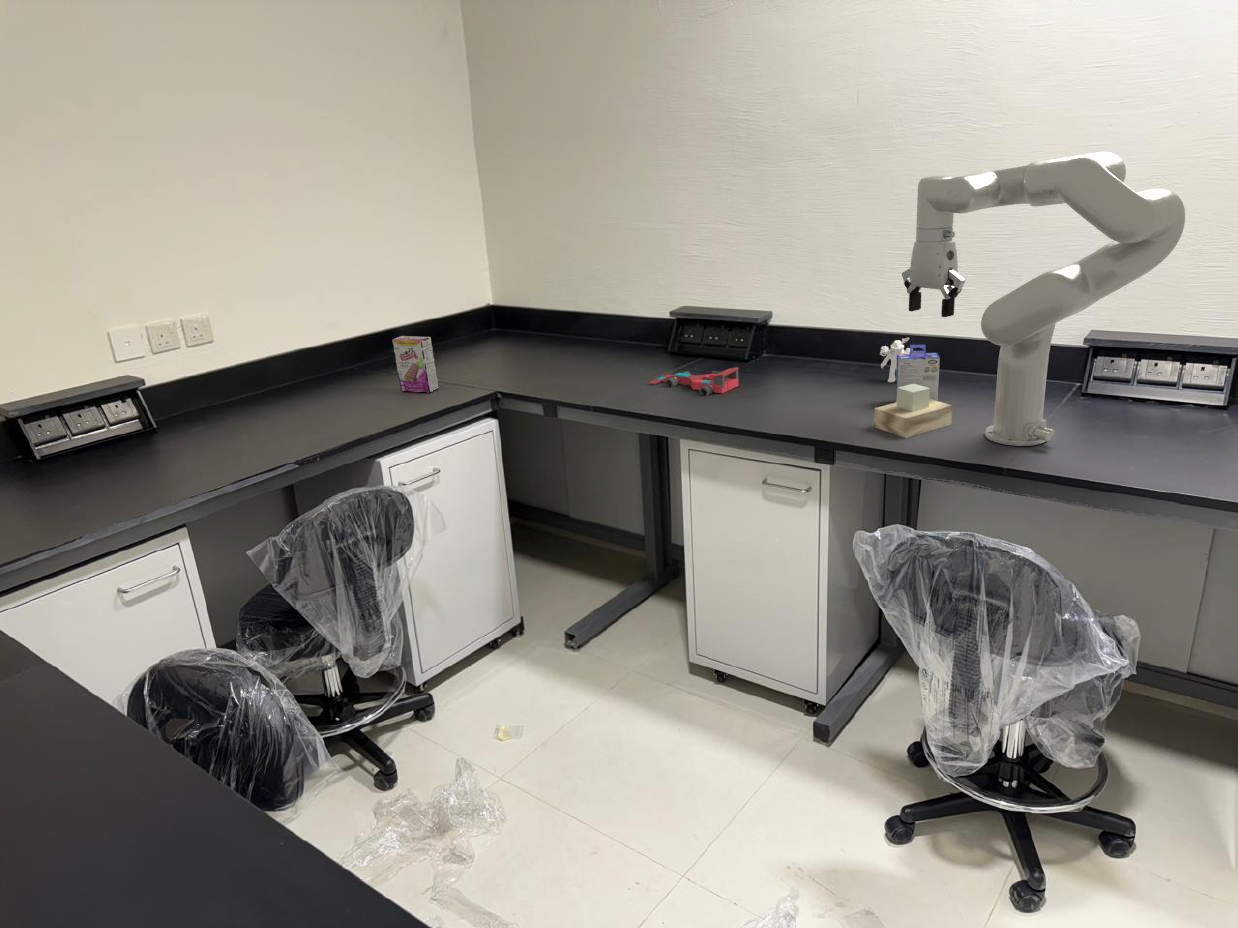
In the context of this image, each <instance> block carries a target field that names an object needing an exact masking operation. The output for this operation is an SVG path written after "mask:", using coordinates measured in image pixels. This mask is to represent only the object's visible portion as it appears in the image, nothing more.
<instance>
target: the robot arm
mask: <svg viewBox="0 0 1238 928" xmlns="http://www.w3.org/2000/svg"><path fill="white" fill-rule="evenodd" d="M1126 169H1127V168H1126V164H1125V163H1124V161H1123V159H1122V158H1121V157H1120V156H1119V155H1117V154H1115V153H1113V152H1108V151H1099V152H1097V151H1096V152H1090V153H1084V154H1079V155H1073V156H1065V157H1060V158H1058V157H1057V158H1053V159H1046V160H1039V161H1034V162H1031V163H1029V164H1027V165H1023V166H1017V167H1010V168H1004V169H1003V168H1002V169H996V170H989V171H983V172H977V173H976V172H975V173H970V174H966V175H959V176H955V177H952V176H950V175H934V176H933V175H932V176H927V177H923V178H921V179H920V180H919V181H918V184H917V202H916V203H917V206H916V233H915V242H914V243H913V247H912V253H911V259H910V268H908V269H907V270H906V269H905V270H904V271H903V272H902V273H901V277H902V279H903V285H904V286H905V288H906V292H907V294H908V312H914V311H915V312H916V311H919V310H921V308H922V292H921V290H922V288H923V289H929V290H938V291H939V290H940V292H941V294H942V297H944V298H943V299H941V317H942V318H947V317H952V316H954V314H955V302H956V298H958V296H959V294H960V293H961V292H962V290H963V287H964V285H965V283H966V279H965V278H964V277H963V276H961V275H960V274H959V271H958V269H959V267H958V266H959V265H958V251H957V245H956V242H955V241H953V238H955V235H956V233H955V231H954V230H953V229H954V214H962V215H963V214H968V213H971V212H975V211H979V210H986V209H990V208H998V207H1005V206H1013V205H1024V204H1025V205H1027V204H1028V205H1030V206H1031V207H1034V208H1035V207H1037V208H1039V207H1045V206H1053V205H1054V206H1055V205H1061V204H1062V205H1063V204H1066V205H1067V206H1068V207H1069V208H1071V209H1072V210H1073V211H1074V212H1075V213H1077V214H1078V215H1079V216H1081V218H1083V219H1084V220H1085V221H1087V223H1090V224H1091V225H1092V226H1093V227H1094V228H1095V229H1096V230H1098V231H1099V232H1101V233H1102V234H1103V235H1104V236H1106V237H1107V238H1108V239H1110V240H1113V241H1111V242H1109V243H1107V244H1105V245H1103V246H1102V247H1099V248H1098V249H1096V250H1095V251H1094V252H1091V254H1088V255H1087V256H1085V257H1082V258H1081V259H1079V260H1078V261H1074V262H1072V263H1071V264H1066V265H1064V266H1061V267H1058V268H1054V269H1051V270H1049V271H1046V272H1044V273H1041V274H1039V275H1038V276H1036V277H1034V278H1032V279H1031V280H1029V281H1027V282H1025V283H1023V284H1022V285H1020V286H1019V287H1017V288H1015V289H1013V290H1012V291H1009V292H1008V293H1006V294H1005V295H1003V296H1001V297H999V298H998V299H996V300H994V301H993V302H992V303H990V304H989V305H988V306H987V307H986V308H985V310H984V312H983V314H982V317H981V319H980V320H981V321H980V328H981V329H980V330H981V332H982V334H983V336H984V337H985V339H986V340H988V341H989V342H990V343H992V344H994V345H996V346H1000V348H999V349H1000V350H999V355H998V362H997V363H998V364H997V365H998V366H997V374H996V376H997V377H996V385H995V386H996V390H995V401H994V411H993V412H994V415H993V424H991V425H989V426H988V427H987V428H985V432H984V435H985V437H986V438H987V440H989V441H992V442H994V443H998V444H1000V445H1006V446H1015V447H1016V446H1017V447H1028V446H1029V447H1030V446H1037V445H1041V444H1044V443H1045V442H1049V441H1051V440H1052V439H1053V438H1052V437H1054V436H1055V434H1056V430H1055V429H1053V428H1049V427H1047V419H1044V404H1045V397H1046V395H1045V394H1046V388H1047V387H1046V385H1047V375H1048V367H1049V366H1048V365H1049V356H1050V350H1051V345H1052V340H1053V335H1054V331H1055V327H1056V323H1059V322H1061V321H1063V320H1064V319H1067V318H1070V317H1072V316H1074V315H1076V314H1078V313H1081V312H1083V311H1084V310H1086V309H1087V308H1088V307H1090V306H1092V305H1094V304H1095V303H1097V302H1098V301H1100V300H1102V299H1104V298H1105V297H1107V296H1109V295H1111V294H1113V293H1115V292H1117V291H1118V290H1120V289H1122V288H1123V287H1125V286H1127V285H1129V284H1130V283H1133V282H1134V281H1136V280H1137V279H1139V278H1141V277H1143V276H1144V275H1146V274H1148V273H1149V272H1151V271H1152V270H1153V269H1155V268H1156V267H1157V266H1159V265H1160V264H1161V263H1162V262H1164V260H1166V259H1167V257H1169V255H1170V254H1171V253H1172V252H1173V250H1174V249H1175V248H1176V246H1177V245H1178V243H1179V242H1180V239H1181V237H1182V235H1183V231H1184V228H1185V222H1186V209H1185V205H1184V202H1183V201H1182V199H1181V197H1180V196H1179V195H1177V193H1174V192H1173V191H1171V190H1168V189H1163V188H1152V189H1151V188H1150V189H1145V190H1143V191H1138V192H1136V191H1134V190H1133V189H1132V188H1131V187H1129V186H1128V185H1127V184H1125V183H1124V182H1125V179H1126V175H1127V170H1126Z"/></svg>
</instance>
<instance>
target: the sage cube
mask: <svg viewBox="0 0 1238 928" xmlns="http://www.w3.org/2000/svg"><path fill="white" fill-rule="evenodd" d="M929 398H930V388H928V387H924V386H921V385H917V384H910V385H906V386H902V387H898V388H897V407H900V408H903V409H906V410H909V411H912V412H913V411H917V410H920V409H924V408H928V407H929Z"/></svg>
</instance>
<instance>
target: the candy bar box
mask: <svg viewBox="0 0 1238 928" xmlns="http://www.w3.org/2000/svg"><path fill="white" fill-rule="evenodd" d="M391 341H392V346H393V353H394V359H395V363H396V369H397V370H396V371H397V375H398V380H399V387H400V388H399V389H400V391H401V390H406V391H421V392H431V391H433V390H435V389H437V388H439V389H440V386H439V382H438V381H439V380H438V375H437V369H436V363H435V356H434V350H433V343H432V337H431V336H412V335H411V336H410V335H401V336H398V337H396V338H393V339H392V340H391Z"/></svg>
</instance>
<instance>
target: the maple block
mask: <svg viewBox="0 0 1238 928" xmlns="http://www.w3.org/2000/svg"><path fill="white" fill-rule="evenodd" d="M873 412H874V415H873V428H876V429H879V430H881V431H885V432H887V433H890V434H893V435H896V436H899V437H901V438H905V439H908V438H910V437H913V436H917V435H920V434H924V433H927V432H931V431H934V430H937V429H941V428H944V427H948V426H951V425H952V421H953V419H952V417H953V405H952V404H949V403H945V402H942V401H939V400H938V401H935V400H932V399H929V407H928V408H924V409H920V410H917V411H913V412H912V411H909V410H906V409H903V408H900V407H897V402H893V403H887V404H885V405H882V406H878V407H874V410H873Z"/></svg>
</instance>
